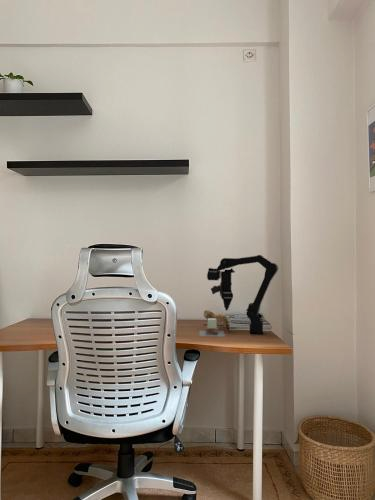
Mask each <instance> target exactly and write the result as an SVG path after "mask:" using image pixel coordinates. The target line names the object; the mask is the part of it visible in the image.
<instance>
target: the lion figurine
mask: <svg viewBox="0 0 375 500" xmlns="http://www.w3.org/2000/svg"><path fill="white" fill-rule="evenodd" d="M203 317H204V318H205V319H206V320H207V321H208V318H216V320H217V321H220V323H219V326H223V327H226V325H227V324H228V323H227V320H226V317H225V315H223V314H221V313H220V314H216V313H214V312H212V311H210V310H209V309H206V310H204V311H203Z"/></svg>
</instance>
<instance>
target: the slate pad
mask: <svg viewBox="0 0 375 500" xmlns="http://www.w3.org/2000/svg"><path fill="white" fill-rule="evenodd" d="M199 337H226V334H225V331H224V330H218V335H206V330H199Z"/></svg>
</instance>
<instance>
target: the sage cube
mask: <svg viewBox="0 0 375 500" xmlns="http://www.w3.org/2000/svg"><path fill="white" fill-rule="evenodd" d="M217 322H218V320H216V318H208V320H207V327H208V328H213V329H216V327H217Z"/></svg>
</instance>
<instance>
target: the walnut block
mask: <svg viewBox="0 0 375 500" xmlns="http://www.w3.org/2000/svg"><path fill="white" fill-rule="evenodd" d="M218 327H219V326H216V329H213V328H208V326H206V329H205V331H206V335H218V331H219V328H218Z"/></svg>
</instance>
